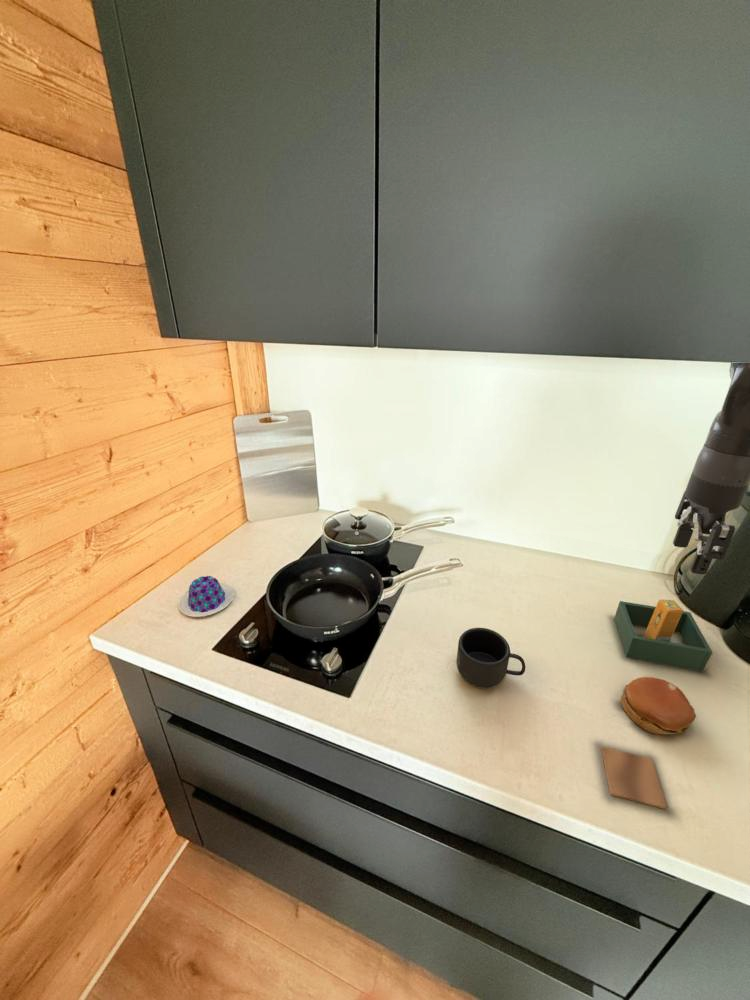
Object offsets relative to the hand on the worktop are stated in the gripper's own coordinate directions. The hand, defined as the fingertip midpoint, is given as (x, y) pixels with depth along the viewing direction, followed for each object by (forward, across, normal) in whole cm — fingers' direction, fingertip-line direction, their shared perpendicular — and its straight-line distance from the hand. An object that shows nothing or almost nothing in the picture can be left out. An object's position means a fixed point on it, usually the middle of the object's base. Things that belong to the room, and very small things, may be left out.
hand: (687, 558), depth 75 cm
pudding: (+21, -12, +95) cm, 98 cm away
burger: (+21, -17, +4) cm, 27 cm away
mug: (+21, -16, +32) cm, 41 cm away
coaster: (+21, -29, +11) cm, 38 cm away
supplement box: (+21, +1, 0) cm, 21 cm away
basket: (+21, +1, 0) cm, 21 cm away
